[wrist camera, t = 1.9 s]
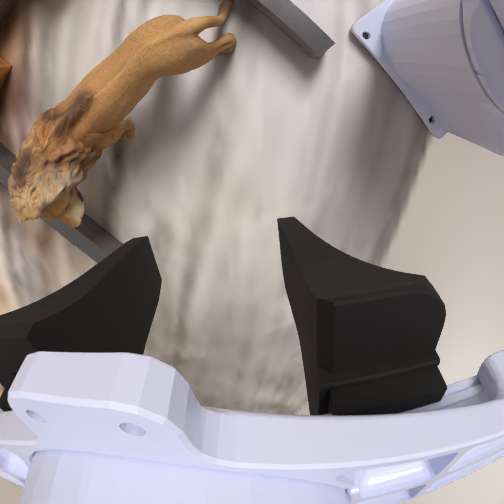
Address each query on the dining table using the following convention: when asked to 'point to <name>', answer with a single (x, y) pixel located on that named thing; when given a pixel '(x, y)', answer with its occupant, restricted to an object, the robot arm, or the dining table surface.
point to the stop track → (88, 232)
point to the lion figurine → (104, 113)
